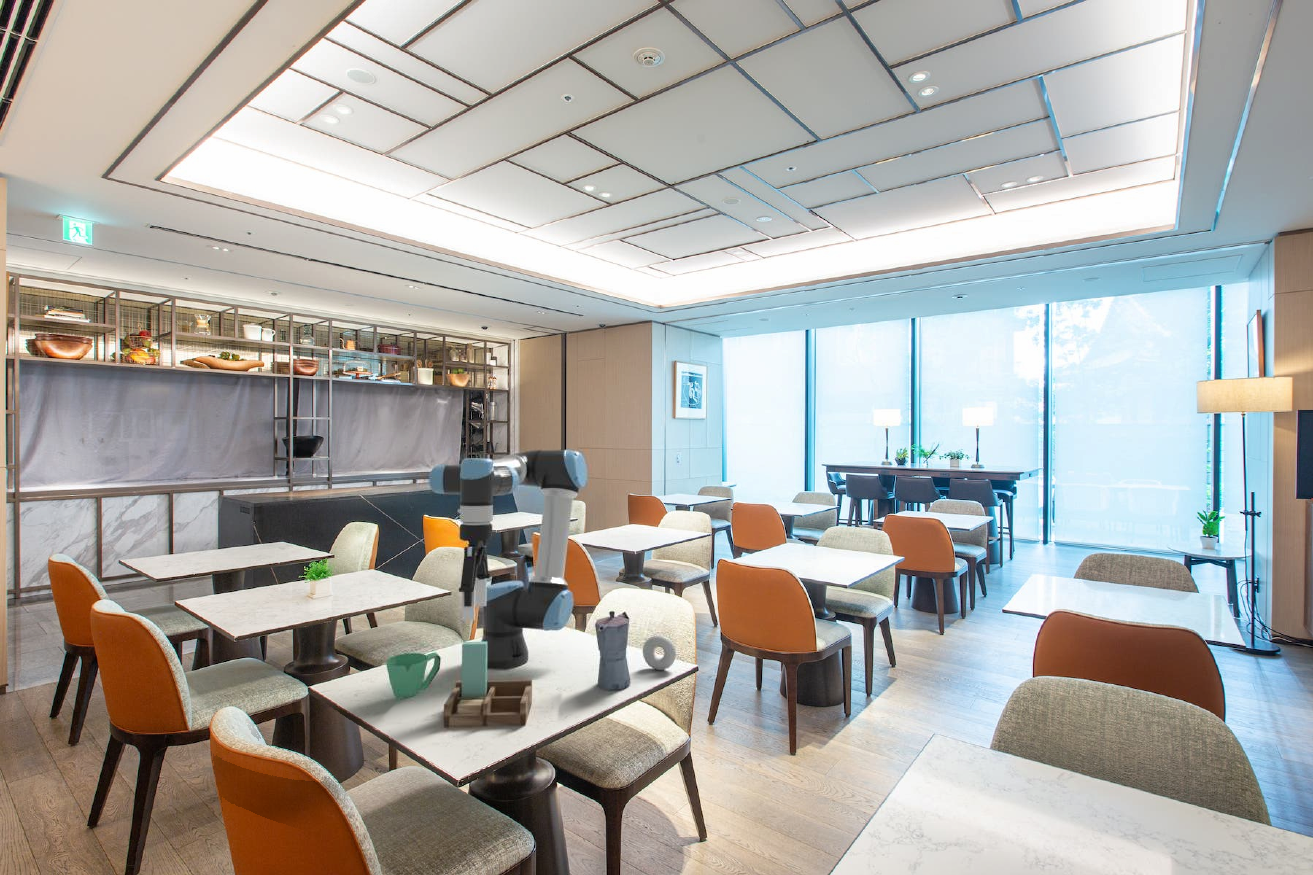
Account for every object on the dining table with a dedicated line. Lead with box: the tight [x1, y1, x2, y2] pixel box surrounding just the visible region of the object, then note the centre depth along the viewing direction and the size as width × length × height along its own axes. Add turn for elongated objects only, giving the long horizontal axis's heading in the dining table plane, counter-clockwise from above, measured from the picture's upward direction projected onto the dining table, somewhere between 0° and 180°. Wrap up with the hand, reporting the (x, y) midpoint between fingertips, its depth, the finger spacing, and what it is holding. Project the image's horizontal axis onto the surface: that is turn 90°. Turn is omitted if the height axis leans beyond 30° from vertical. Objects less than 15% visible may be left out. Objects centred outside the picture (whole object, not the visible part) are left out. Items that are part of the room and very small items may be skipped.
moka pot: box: [594, 610, 631, 691], centre depth 174 cm, size 10×15×20 cm, turn 158°
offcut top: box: [458, 700, 484, 714], centre depth 147 cm, size 3×5×2 cm, turn 94°
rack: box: [443, 678, 533, 729], centre depth 150 cm, size 12×18×8 cm, turn 94°
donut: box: [642, 634, 677, 671], centre depth 185 cm, size 10×4×10 cm, turn 71°
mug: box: [385, 652, 442, 702], centre depth 165 cm, size 15×10×10 cm
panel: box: [461, 641, 488, 697], centre depth 152 cm, size 2×6×16 cm, turn 94°
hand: (474, 612), depth 152 cm, fingers open, 13 cm apart
